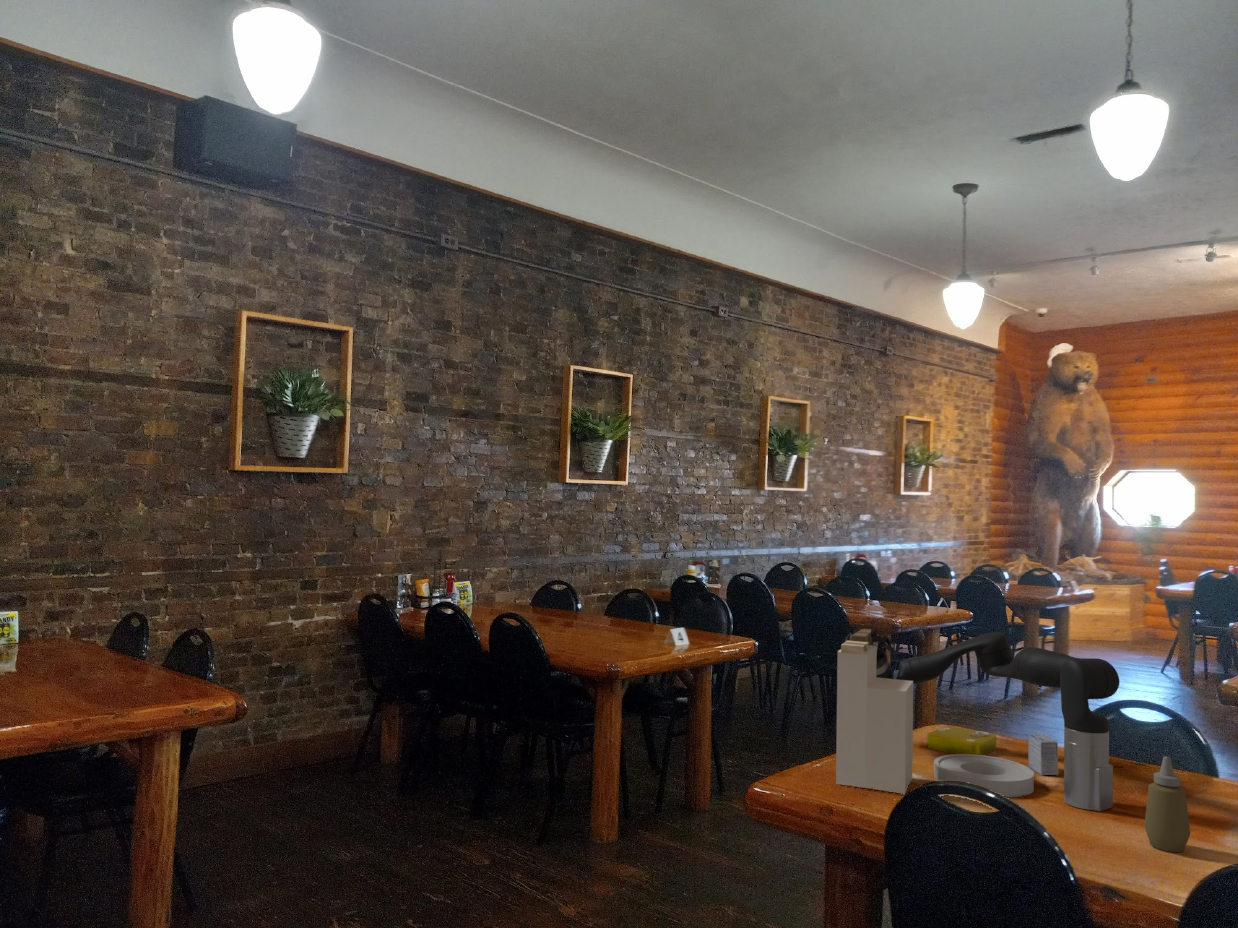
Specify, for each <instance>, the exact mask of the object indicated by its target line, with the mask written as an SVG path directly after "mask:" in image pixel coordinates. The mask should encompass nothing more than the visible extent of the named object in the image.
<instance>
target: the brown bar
mask: <svg viewBox="0 0 1238 928" xmlns="http://www.w3.org/2000/svg"><path fill="white" fill-rule="evenodd" d="M871 629H872V628H860V631H858V632H856V633H855V634H853V635H852V636H851V641H848V640H847V641H846V642H845V641H844V642H843V643H841V645H840V649H841V652H845V653H857V654H864V653H865V652H866V651H867V650H868V646H869V645H870V644H871V643H872V642H873V641H872V638H871Z"/></svg>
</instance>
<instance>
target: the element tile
mask: <svg viewBox="0 0 1238 928" xmlns="http://www.w3.org/2000/svg"><path fill="white" fill-rule="evenodd" d="M926 735H927V737H926V738H927V748H928V749H930V750H933V751H938V752H944V753H948V754H952V755H953V754H973V755H984V756H988V755H989V754H991V753H992V752H995V751H997V735H996V734H994V733H990V732H986V731H982V730H981V731H979V730H974V729H969V728H964V727H958V726H953V725H946V726H943V727H940V728H938V729H935V730H932V731H931V732H928V733H927V734H926Z"/></svg>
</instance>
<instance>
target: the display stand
mask: <svg viewBox="0 0 1238 928" xmlns="http://www.w3.org/2000/svg"><path fill="white" fill-rule="evenodd" d="M836 660H837V661H836V662H837V663H836V664H837V665H836V667H837V669H836V670H837V671H836V673H837V674H836V675H837V676H836V677H837V679H836V681H837V682H836V688H837V689H836V743H835V744H836V748H835V749H836V754H835V755H836V758H835V759H836V761H835V785H836V784H842V785H852V786H857V787H865V788H873V789H878V790H885V791H889V792H897V793H901V794H900V795H902V793H903V796H905V795H906V794H905V793H907V791H908V789H909V787H908V785H909V784H910V785H911V782H912V780H913V761H914V760H913V759H914V758H913V756H914V755H913V753H914V751H913V750H914V749H913V746H914V745H913V743H914V740H913V739H914V684H913V681H908V680H898V679H895V678H894V679H887V678H877V677H876V661H877V646H873V645H869V646H868V650H867V651H866V652H865V653H864V654H857V653H845V652H841V648H840V649H838V650H837V659H836ZM911 779H912V780H911ZM910 781H911V782H910ZM910 785H909V786H910ZM907 788H908V789H907Z"/></svg>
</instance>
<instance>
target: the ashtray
mask: <svg viewBox="0 0 1238 928" xmlns="http://www.w3.org/2000/svg"><path fill="white" fill-rule="evenodd" d="M934 777H935V778H936V779H937V780H956V781H961V782H969V783H970V784H974V785H979V786H981V787H985V788H988V789H990V790H992V791H993V792H997V793H1001V795H1004V796H1006V797H1005V798H1017V797H1023V795H1024V796H1028V795H1030V794H1032V793H1034V791H1035V788H1034V787H1035V786H1034V785H1035V783H1034V782H1035V778H1036V777H1035V771H1034V770H1033V769H1031V768H1030V767H1029V766H1028V765H1024V764H1022V763H1020V762H1017V761H1013V760H1010V759H1005V758H1001V757H997V756H990V755H973V754H953V753H952V754H947V755H941V756H938V757H936V758H935V759H934V760H933V778H934Z"/></svg>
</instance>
